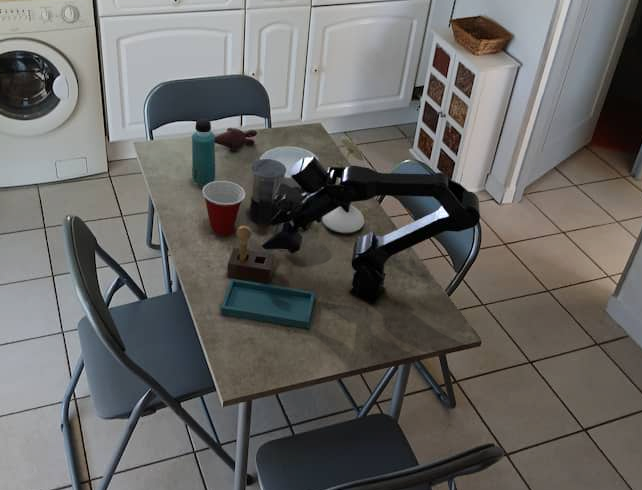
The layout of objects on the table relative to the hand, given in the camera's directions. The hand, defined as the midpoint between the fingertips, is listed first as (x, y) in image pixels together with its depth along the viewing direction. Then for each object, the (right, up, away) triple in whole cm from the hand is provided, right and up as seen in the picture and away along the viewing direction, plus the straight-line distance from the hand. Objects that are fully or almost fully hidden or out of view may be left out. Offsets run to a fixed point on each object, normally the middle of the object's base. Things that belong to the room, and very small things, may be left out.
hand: (267, 235), depth 173 cm
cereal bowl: (+4, +14, +41) cm, 43 cm away
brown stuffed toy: (-14, +24, +53) cm, 60 cm away
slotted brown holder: (-4, -9, +7) cm, 13 cm away
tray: (0, -16, -2) cm, 16 cm away
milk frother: (+2, +3, +26) cm, 27 cm away
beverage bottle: (-20, +13, +36) cm, 44 cm away
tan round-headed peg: (-6, -9, +8) cm, 13 cm away
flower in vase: (+18, +2, +27) cm, 33 cm away
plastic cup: (-13, +1, +21) cm, 24 cm away
